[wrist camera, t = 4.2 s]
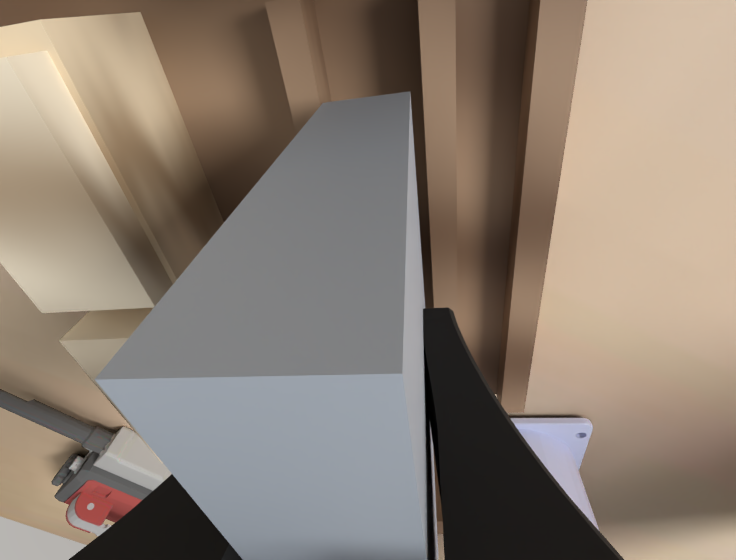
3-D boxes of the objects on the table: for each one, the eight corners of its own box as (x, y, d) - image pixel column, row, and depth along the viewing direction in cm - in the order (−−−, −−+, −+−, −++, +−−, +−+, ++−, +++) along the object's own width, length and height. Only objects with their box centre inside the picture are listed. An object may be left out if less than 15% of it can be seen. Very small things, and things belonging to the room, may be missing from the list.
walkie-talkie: (277, 493, 30) (-4, 356, 22) (259, 561, 26) (-81, 424, 19) (220, 521, 34) (-31, 413, 27) (197, 583, 30) (-99, 478, 23)
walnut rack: (514, 376, 19) (557, 538, 13) (210, 382, 21) (139, 521, 16) (580, -167, 8) (903, -473, 3) (-27, -33, 11) (-487, -60, 5)
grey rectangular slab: (430, 384, 14) (444, 698, 8) (376, 385, 15) (349, 688, 8) (410, 91, 9) (401, 372, 2) (323, 103, 9) (94, 380, 3)
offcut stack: (284, 374, 19) (254, 464, 15) (207, 376, 19) (161, 463, 16) (140, 12, 10) (-5, 23, 7) (13, 35, 11) (-180, 56, 7)
